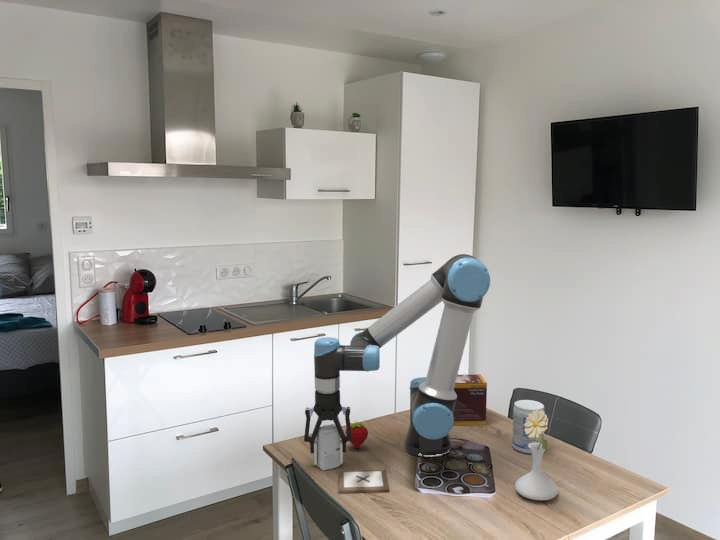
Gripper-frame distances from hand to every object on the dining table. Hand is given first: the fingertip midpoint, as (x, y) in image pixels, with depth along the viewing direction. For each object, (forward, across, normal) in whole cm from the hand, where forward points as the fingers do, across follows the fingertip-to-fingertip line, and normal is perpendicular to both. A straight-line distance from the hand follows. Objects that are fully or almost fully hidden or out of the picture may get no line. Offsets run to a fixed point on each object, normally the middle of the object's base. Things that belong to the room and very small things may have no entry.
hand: (328, 462), depth 182 cm
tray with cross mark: (+1, -10, +11) cm, 15 cm away
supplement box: (+1, -48, -34) cm, 59 cm away
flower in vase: (+1, -57, +21) cm, 61 cm away
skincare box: (+1, 0, 0) cm, 1 cm away
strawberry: (+1, -9, -12) cm, 15 cm away
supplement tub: (+1, -64, -9) cm, 65 cm away
